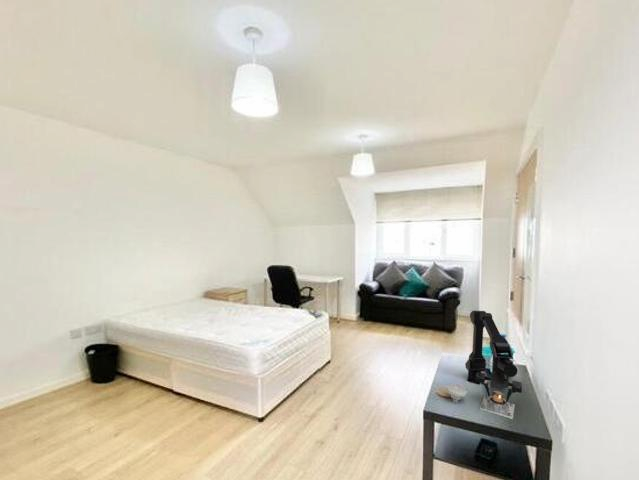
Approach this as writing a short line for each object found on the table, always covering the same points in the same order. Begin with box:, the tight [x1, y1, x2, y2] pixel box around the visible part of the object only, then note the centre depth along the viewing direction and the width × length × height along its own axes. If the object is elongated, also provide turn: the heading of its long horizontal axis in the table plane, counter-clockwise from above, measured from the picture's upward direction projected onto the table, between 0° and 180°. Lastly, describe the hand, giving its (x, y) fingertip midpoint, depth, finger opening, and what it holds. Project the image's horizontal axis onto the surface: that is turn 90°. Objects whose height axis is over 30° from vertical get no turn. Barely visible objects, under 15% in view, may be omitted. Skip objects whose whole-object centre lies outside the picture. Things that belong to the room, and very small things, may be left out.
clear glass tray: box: [479, 395, 516, 420], centre depth 151 cm, size 13×13×3 cm
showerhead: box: [445, 383, 468, 403], centre depth 155 cm, size 9×7×10 cm
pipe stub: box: [491, 390, 505, 405], centre depth 150 cm, size 4×4×6 cm
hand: (497, 399), depth 150 cm, fingers open, 7 cm apart
